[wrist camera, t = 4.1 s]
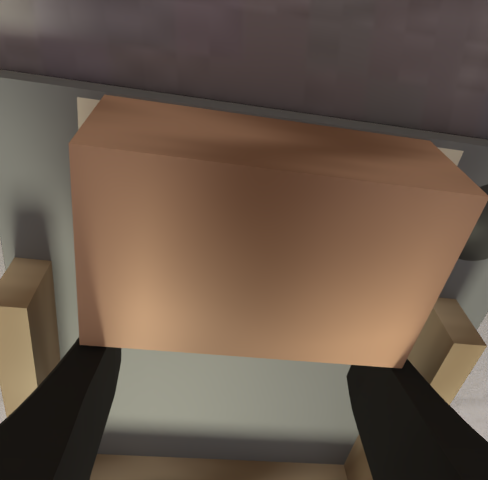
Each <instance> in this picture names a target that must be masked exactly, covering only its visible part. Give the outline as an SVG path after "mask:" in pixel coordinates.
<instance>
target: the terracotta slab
mask: <svg viewBox="0 0 488 480" xmlns="http://www.w3.org/2000/svg"><path fill="white" fill-rule="evenodd" d="M69 160H70V179H71V197H72V215H73V233H74V252H75V270H76V288H77V306H78V324H79V343H80V345H88V346H102V347H115V348H129V349H143V350H156V351H170V352H184V353H197V354H211V355H225V356H238V357H252V358H266V359H279V360H293V361H307V362H320V363H334V364H348V365H361V366H375V367H389V368H402V367H403V366H404V364H405V362H406V360H407V358H408V356H409V354H410V352H411V350H412V348H413V346H414V344H415V342H416V340H417V338H418V336H419V334H420V332H421V330H422V328H423V326H424V324H425V322H426V321H427V319H428V317H429V315H430V313H431V311H432V309H433V307H434V305H435V303H436V301H437V299H438V297H439V295H440V293H441V291H442V289H443V287H444V285H445V283H446V281H447V279H448V278H449V276H450V274H451V272H452V270H453V268H454V266H455V264H456V262H457V260H458V258H459V256H460V254H461V252H462V250H463V248H464V246H465V244H466V242H467V240H468V238H469V236H470V235H471V233H472V231H473V229H474V227H475V225H476V223H477V221H478V219H479V217H480V215H481V213H482V211H483V209H484V207H485V205H486V203H487V201H488V195H487V194H486V193H485V192H484V191H483V190H482V189H481V188H480V187H479V186H478V185H477V184H475V183H474V182H473V181H472V180H471V179H470V178H469V177H468V176H467V175H466V174H465V173H464V172H463V171H462V170H461V169H460V168H459V167H457V166H456V165H455V164H454V163H453V162H452V161H451V160H450V159H449V158H448V157H447V156H446V155H445V154H444V153H443V152H442V151H440V150H439V149H438V148H437V147H436V146H435V145H434V144H433V143H432V142H431V141H429V140H422V139H415V138H407V137H400V136H393V135H386V134H379V133H372V132H365V131H358V130H351V129H344V128H337V127H330V126H323V125H316V124H309V123H302V122H295V121H288V120H281V119H274V118H267V117H260V116H252V115H245V114H238V113H231V112H224V111H217V110H210V109H203V108H196V107H189V106H182V105H175V104H168V103H161V102H154V101H147V100H140V99H133V98H126V97H119V96H112V95H105V94H104V96H103V97H102V99H101V100H100V101H99V103H98V104H97V105H96V107H95V108H94V109H93V111H92V112H91V113H90V115H89V116H88V118H87V119H86V120H85V122H84V123H83V124H82V126H81V127H80V128H79V130H78V131H77V133H76V134H75V135H74V137H73V138H72V139H71V141H70V142H69Z"/></svg>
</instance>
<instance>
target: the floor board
mask: <svg viewBox="0 0 488 480" xmlns="http://www.w3.org/2000/svg"><path fill="white" fill-rule="evenodd" d="M104 94H105V95H112V96H119V97H126V98H133V99H140V100H147V101H154V102H161V103H168V104H175V105H182V106H189V107H196V108H203V109H210V110H217V111H224V112H231V113H238V114H245V115H252V116H260V117H267V118H274V119H281V120H288V121H295V122H302V123H309V124H316V125H323V126H330V127H337V128H344V129H351V130H358V131H365V132H372V133H379V134H386V135H393V136H400V137H407V138H415V139H422V140H429V141H431V142H432V143H433V144H434V145H435V146H436V147H437V148H438V149H439V150H440V151H442V152H443V153H444V154H445V155H446V156H447V157H448V158H449V159H450V160H451V161H452V162H453V163H454V164H455V165H456V166H457V167H459V168H460V169H461V170H462V171H463V172H464V173H465V174H466V175H467V176H468V177H469V178H470V179H471V180H472V181H473V182H474V183H475V184H477V185H478V186H479V187H480V188H481V189H482V190H483V191H484V192H485V193H486V194H487V195H488V140H487V139H480V138H473V137H466V136H459V135H452V134H445V133H438V132H431V131H424V130H417V129H410V128H403V127H396V126H389V125H383V124H376V123H369V122H362V121H355V120H348V119H341V118H334V117H327V116H320V115H313V114H306V113H299V112H292V111H285V110H278V109H272V108H265V107H258V106H251V105H244V104H237V103H230V102H223V101H216V100H209V99H202V98H195V97H188V96H181V95H174V94H167V93H161V92H154V91H147V90H140V89H133V88H126V87H119V86H112V85H105V84H98V83H91V82H84V81H77V80H70V79H63V78H57V77H50V76H43V75H36V74H29V73H22V72H15V71H8V70H1V69H0V239H1V245H2V251H3V258H4V264H5V270H7V268H8V267H9V265H10V264H11V262H12V261H13V259H14V257H16V258H27V259H37V260H48V261H52V272H53V283H54V294H55V306H56V317H57V328H58V339H59V350H60V361H61V359H62V358H63V357H64V356H65V354H66V353H67V352H68V351H69V349H70V348H71V347H72V346H73V344H74V343H75V342H76V340H77V339H78V338H79V324H78V306H77V288H76V270H75V252H74V233H73V215H72V197H71V179H70V160H69V142H70V141H71V139H72V138H73V137H74V135H75V134H76V133H77V131H78V130H79V128H80V127H81V126H82V124H83V123H84V122H85V120H86V119H87V118H88V116H89V115H90V113H91V112H92V111H93V109H94V108H95V107H96V105H97V104H98V103H99V101H100V100H101V99H102V97H103V96H104ZM438 298H448V299H456V300H457V302H458V303H459V305H460V306H461V308H462V309H463V311H464V312H465V314H466V315H467V317H468V318H469V320H470V321H471V323H472V324H473V326H474V327H475V329H476V330H477V329H478V327H479V326H480V324H481V322H482V321H483V319H484V317H485V316H486V314H487V312H488V201H487V203H486V205H485V207H484V209H483V211H482V213H481V215H480V217H479V219H478V221H477V223H476V225H475V227H474V229H473V231H472V233H471V235H470V236H469V238H468V240H467V242H466V244H465V246H464V248H463V250H462V252H461V254H460V256H459V258H458V260H457V262H456V264H455V266H454V268H453V270H452V272H451V274H450V276H449V278H448V279H447V281H446V283H445V285H444V287H443V289H442V291H441V293H440V295H439V297H438ZM350 366H351V365H348V364H334V363H320V362H307V361H293V360H279V359H266V358H252V357H238V356H225V355H211V354H197V353H184V352H170V351H156V350H143V349H129V348H121V365H120V370H119V376H118V381H117V386H116V392H115V396H114V399H113V403H112V406H111V409H110V413H109V416H108V419H107V423H106V426H105V429H104V433H103V436H102V439H101V443H100V446H99V449H98V452H97V454H108V455H131V456H154V457H177V458H200V459H223V460H246V461H269V462H292V463H315V464H338V465H344V463H345V461H346V459H347V457H348V455H349V453H350V451H351V449H352V447H353V445H354V443H355V441H356V439H357V437H358V435H359V432H358V429H357V425H356V422H355V419H354V415H353V411H352V408H351V402H350V397H349V390H348V384H347V377H346V376H347V373H348V371H349V369H350Z"/></svg>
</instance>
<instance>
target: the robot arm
mask: <svg viewBox="0 0 488 480" xmlns="http://www.w3.org/2000/svg"><path fill="white" fill-rule="evenodd" d="M120 365H121V348H115V347H102V346H88V345H80V343H79V338H78V339H77V340H76V342H75V343H74V344H73V346H72V347H71V348H70V349H69V351H68V352H67V353H66V354H65V356H64V357H63V358H62V359H61V361H60V362H59V363H58V364H57V365H56V367H55V368H54V369H53V370H52V371H51V372H50V374H49V375H48V376H47V377H46V378H45V379H44V380H43V381H42V382H41V384H40V385H39V386H38V387H37V388H36V389H35V390H34V391H33V392H32V393H31V394H30V395H29V396H28V397H27V399H26V400H25V401H24V402H23V403H22V404H21V405H20V406H19V407H18V408H17V409H16V410H14V411H13V412H12V413H11V414H10V415H9V416H8V417H7V418H6V419H5V420H4V421H3V422H2V423H1V424H0V480H90V476H91V473H92V469H93V466H94V462H95V459H96V456H97V452H98V449H99V446H100V443H101V439H102V436H103V433H104V429H105V426H106V423H107V419H108V416H109V413H110V409H111V406H112V403H113V399H114V396H115V392H116V386H117V381H118V376H119V370H120ZM346 377H347V384H348V390H349V397H350V402H351V408H352V411H353V415H354V419H355V422H356V425H357V429H358V432H359V435H360V439H361V442H362V445H363V449H364V452H365V455H366V458H367V462H368V465H369V468H370V472H371V475H372V478H373V480H488V442H487V441H486V440H485V439H484V438H483V437H482V436H481V435H479V434H478V433H477V432H476V431H475V430H474V429H473V428H472V427H471V426H470V425H469V424H468V423H466V422H465V421H464V420H463V419H462V418H461V417H460V416H459V415H458V414H457V413H456V411H455V410H454V409H453V408H452V407H451V406H450V405H449V404H448V403H447V402H446V401H445V400H444V399H443V398H442V397H441V396H440V395H439V394H438V393H437V392H436V391H435V390H434V388H433V387H432V386H431V385H430V384H429V383H428V382H427V381H426V380H425V378H424V377H423V376H422V375H421V374H420V373H419V372H418V370H417V369H416V368H415V367H414V366H413V365H412V363H411V362H410V361H409V360H408V359H407V360H406V362H405V364H404V366H403V367H402V368H389V367H375V366H361V365H351V366H350V369H349V371H348V373H347V376H346Z"/></svg>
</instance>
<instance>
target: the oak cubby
mask: <svg viewBox="0 0 488 480" xmlns="http://www.w3.org/2000/svg"><path fill="white" fill-rule="evenodd" d="M486 347H487V345H486V344H485V342H484V341H483V339H482V338H481V336H480V335H479V333H478V332H477V330H476V329H475V327H474V326H473V324H472V323H471V321H470V320H469V318H468V317H467V315H466V314H465V312H464V311H463V309H462V308H461V306H460V305H459V303H458V302H457V300H456V299H448V298H438V299H437V301H436V303H435V305H434V307H433V309H432V311H431V313H430V315H429V317H428V319H427V321H426V322H425V324H424V326H423V328H422V330H421V332H420V334H419V336H418V338H417V340H416V342H415V344H414V346H413V348H412V350H411V352H410V354H409V356H408V358H407V359H408V360H409V361H410V362H411V363H412V365H413V366H414V367H415V368H416V369H417V370H418V372H419V373H420V374H421V375H422V376H423V377H424V378H425V380H426V381H427V382H428V383H429V384H430V385H431V386H432V387H433V388H434V390H435V391H436V392H437V393H438V394H439V395H440V396H441V397H442V398H443V399H444V400H445V401H446V402H447V403H448V404H449V405H450V403H451V402H452V400H453V399H454V397H455V395H456V394H457V392H458V391H459V389H460V388H461V386H462V384H463V383H464V381H465V380H466V378H467V377H468V375H469V373H470V372H471V370H472V369H473V367H474V366H475V364H476V362H477V361H478V359H479V358H480V356H481V355H482V353H483V351H484V350H485V348H486ZM59 362H60V350H59V339H58V328H57V317H56V306H55V294H54V283H53V272H52V261H48V260H37V259H27V258H16V257H14V259H13V261H12V262H11V264H10V265H9V267H8V268H7V270H6V271H5V273H4V275H3V276H2V278H1V279H0V386H1V391H2V396H3V401H4V406H5V411H6V416H7V417H8V416H9V415H10V414H11V413H12V412H13V411H14V410H16V409H17V408H18V407H19V406H20V405H21V404H22V403H23V402H24V401H25V400H26V399H27V397H28V396H29V395H30V394H31V393H32V392H33V391H34V390H35V389H36V388H37V387H38V386H39V385H40V384H41V382H42V381H43V380H44V379H45V378H46V377H47V376H48V375H49V374H50V372H51V371H52V370H53V369H54V368H55V367H56V365H57V364H58V363H59ZM90 480H373V478H372V475H371V472H370V468H369V465H368V462H367V458H366V455H365V452H364V449H363V445H362V442H361V439H360V435H358V437H357V439H356V441H355V443H354V445H353V447H352V449H351V451H350V453H349V455H348V457H347V459H346V461H345V463H344V465H338V464H315V463H292V462H269V461H246V460H223V459H200V458H177V457H154V456H131V455H108V454H97V456H96V459H95V462H94V466H93V469H92V473H91V476H90Z"/></svg>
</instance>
